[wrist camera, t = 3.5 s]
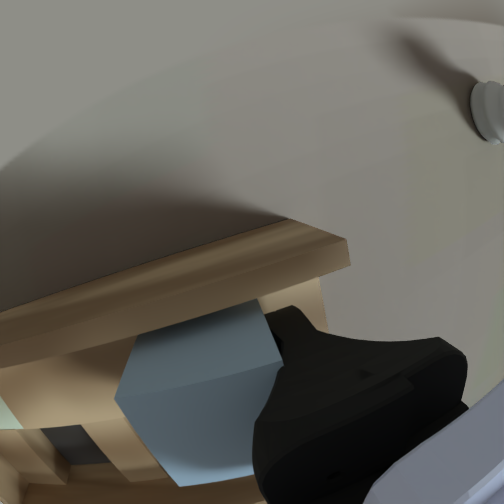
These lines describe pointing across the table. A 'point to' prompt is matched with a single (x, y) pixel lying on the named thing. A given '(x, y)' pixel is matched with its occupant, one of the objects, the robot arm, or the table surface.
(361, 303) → the table surface
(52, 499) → the board
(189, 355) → the blue block
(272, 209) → the table surface
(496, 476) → the robot arm
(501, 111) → the rook chess piece
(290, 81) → the table surface
